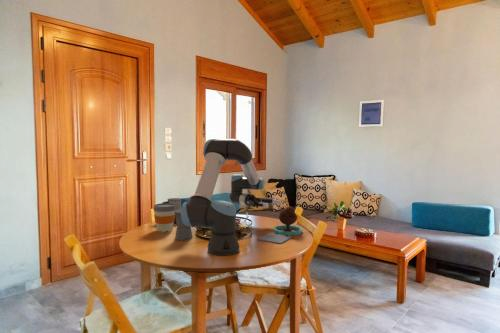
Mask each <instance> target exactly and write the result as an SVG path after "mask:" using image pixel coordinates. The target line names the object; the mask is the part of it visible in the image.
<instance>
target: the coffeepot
mask: <svg viewBox="0 0 500 333" xmlns="http://www.w3.org/2000/svg"><path fill="white" fill-rule="evenodd" d="M174 214H175V216H176V222H177V224H176V225H177V226H176V231H175V238H174V239H175V240H176V239H177V240H176V241H179V240H186V241H191V240H192V239H193V231H192V227H191V226H186V225H185V224H184V223H183V221H182V218H181V209H179V210H176V211H175V213H174Z"/></svg>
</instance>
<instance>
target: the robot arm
mask: <svg viewBox="0 0 500 333" xmlns="http://www.w3.org/2000/svg"><path fill="white" fill-rule="evenodd" d="M202 153H203V154H202V155H203V158H204V160H205V163H204V166H203V169H202V172H201V175H200V178H199V180H198V184H197V186H196V189H195V193H194V194H193V195H191V196H190V197H189V200H188V201H185V202H183V203H182V204H181V218H182V221H183V223H184V224H185V225H186V226H191V228H205V229H210V230H211V233H210V238H209V240H208V244H207V252H208V253H209V254H211V255H214V256H231V255H235V254H238V253H239V252H240V244H239V240H238V237H237V232H236V231H237V228H236V227H237V210H236V205H240V206H244V207H246V206H248V207H253V208H256V209H258V208H264V209H268V208H269V204H273V205H278V206H279V205H282V204H283V203H282V200H281V199H275V197H272V198H270V197H268V198H267V197H256V195H255V194H251V193H250V194H249V193H243V190H250V191H251V190H253V191H263V190H264V189H265V186H266V184H265V179H264V178H261V177H259V173H258V171H257V169H256V166H255V163H254V162H253V153H252V151H251V150H250V148H249V147H248V145H246V144H245V143H244V142H242V141H241V140H239V139H237V138H211V139H207V141H206V142H205V143H204V144H203V150H202ZM227 161H236V163H238V164H239V165H240V166H241V169H242V171H243V174H244V176H245V177H243V174H239V173H238V174H237V173H235V174H231V180H230V189H231V190H230V192H229V193H228V195H227V200H212V197H213V195H214V191H215V188H216V184H217V181H218V178H219V175H220V172H221V168H222V167H223V166H224V165H225V164H226V162H227Z"/></svg>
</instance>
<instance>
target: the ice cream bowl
mask: <svg viewBox="0 0 500 333" xmlns="http://www.w3.org/2000/svg"><path fill="white" fill-rule="evenodd" d="M297 219H298V215H297V214H296V213H295V208H293V206H287V207H286V208H284V209H281V210H280V213H279V214H278V220H279V221H280V222H281V223H282V225H286V229H282V231H285V232H293V229H289V226H290V225H293V224H294V223H296V222H297Z"/></svg>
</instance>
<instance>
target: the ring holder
mask: <svg viewBox="0 0 500 333" xmlns="http://www.w3.org/2000/svg"><path fill="white" fill-rule="evenodd" d="M278 229H279V230H278ZM285 229H286V225H285V224H281V225H276V226H274V227H273V234H276V233H277V234H279V235H285V236H286V235H288V236H292V237H293V235H294V236H298V235H301V234H302V233H303V229H302V227H301V226H297V225H293V224H291V225H290V226H289V229H290V230H292V232H285V231H283V230H285Z"/></svg>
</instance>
